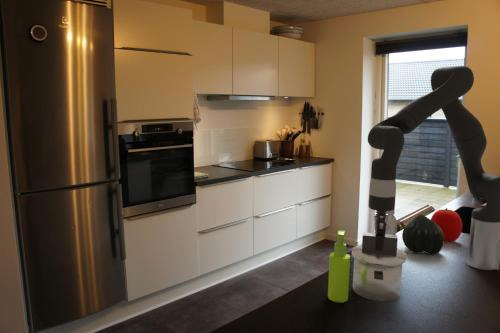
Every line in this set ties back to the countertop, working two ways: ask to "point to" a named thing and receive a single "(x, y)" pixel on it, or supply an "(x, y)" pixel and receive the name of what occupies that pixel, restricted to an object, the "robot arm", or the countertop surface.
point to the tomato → (448, 224)
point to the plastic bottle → (391, 223)
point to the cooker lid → (380, 258)
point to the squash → (423, 236)
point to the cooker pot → (377, 281)
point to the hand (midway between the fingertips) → (379, 248)
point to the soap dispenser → (339, 271)
